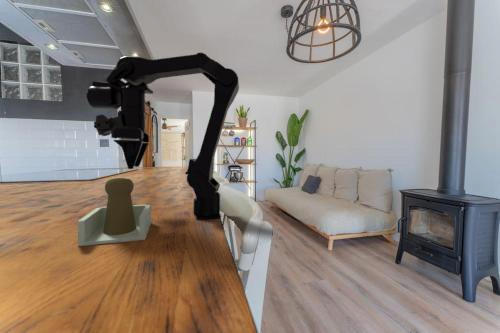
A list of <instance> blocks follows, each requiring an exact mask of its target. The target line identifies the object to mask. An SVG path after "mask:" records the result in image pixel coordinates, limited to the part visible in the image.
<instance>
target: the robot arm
mask: <svg viewBox="0 0 500 333" xmlns="http://www.w3.org/2000/svg"><path fill="white" fill-rule="evenodd" d="M197 74H202V75H203V76H204V77H206V79H208V80H209V81H210V82H211V83H212V84H213V85H214V90H213V92H214V93H213V94H214V96H213V106H212V108H211V112H210V116H209V120H208V123H207V126H206V129H205V133H204V137H203V140H202V143H201V147H200V150H199V154H198V155H197V157H196V158H190V159H189V161H188V168H187V170H186V172H185V175H186V182H187V184H188V185H189V187H190V188H192V189H193V192H194V196H195V198H193V199H192V201H193V202H192V208H193V211H192V212H193V216H195V220H207V219H208V220H209V219H219V218H220V219H221V218H222V215H221V213H220V212H221V211H220V210H221V194H220V193H219V192H218V191H219V189H220V188H221V187H220V186H221V184H220V183H219V182H218V181H217V180H216V179H215V178H214V177H213V176H214V169H215V168H214V165H215V156H216V155H215V154H216V151H217V148H218V145H219V142H220V138H221V134H222V131H223V128H224V125H225V121H226V119H227V114H228V111H229V109H230V107H231V105H232V104H233V102H234V100H235V98H236V96H237V94H238V93H239V90H240V83H239V76H238V74H237V72H236V71H235V70H233V69H232V68H226V67H225V66H223V65H222V64H221V63H220V62H218V61H216V60H214V59H212V58H210V56H208V55H207V54H205V53H204V52H197V53H195V54H188V55H182V56H181V55H179V56H171V57H163V58H157V59H156V58H155V59H154V58H153V59H152V58H151V59H148V58H144V57H141V56H129V55H128V56H127V55H126V56H125V55H124V56H122V57H121V56H120V57H119V59H118V61H117V64H116V65H115V67H114V68H113V70H112V71H111V72H110V74H108V76H107V78H106V79H105V82H102V81H97V80H94V81H91V82H92V86H89V87H88V90H87V91H86V100H87V102H88V104H89V105H90V106H91V107H92V108H93V109H98V110H100V109H101V110H102V109H105V110H106V109H108V110H115V109H116V110H118V109H120V110H118V111H117V116H116V117H109V118H108V117H107V116H106V115H105V114H98V115H96V117H95V121H93V124H94V125H93V127H94V128H95V129H96V132H97V134H98V136H102V137H107V136H110V138H111V139H113V142H114V143H116V144H118V145H119V147H121V149H122V151H123V155H124V159H125V162H126V166H127V169H129V170H132V169H134V168H138V167H140V165H141V163H142V160H143V158H144V156H145V154H146V151H147V149H148V147H149V145H150V143H151V141H150V140H151V136H150V135H149V134H148V133H147V129H146V119H147V114H146V94H147V95H151V94H154V91H153V90H152V89H151V88H150V87H149V86H148V85H149V84H152V83H153V82H155V81H157V80H159V79H164V78H165V79H166V78H171V77H173V78H174V77H181V76H188V75H197ZM123 80H124V81H126V82H124V81H123Z"/></svg>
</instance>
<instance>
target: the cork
mask: <svg viewBox="0 0 500 333" xmlns="http://www.w3.org/2000/svg"><path fill="white" fill-rule="evenodd" d="M134 188H135V187H134V182H133V180H131V179H130V178H125V177H117V178H112V179H108V180H107V181H106V182H105V184H104V190H105V193H106V194H107V201H106V202H107V203H106V207H107V208H106V215H105V223H104V230H103V233H104V234H105V235H121V234H126V233H129V232H132V231H134V230H135V229H136V223H135V217H134V211H133V200H132V192H133V191H134Z"/></svg>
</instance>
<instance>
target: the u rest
mask: <svg viewBox="0 0 500 333" xmlns="http://www.w3.org/2000/svg"><path fill="white" fill-rule="evenodd" d="M132 205H133V204H132ZM106 208H107V206H97V207H96V208H94V209H93V210H91V211H90V212H89V213H87V214H86V215H84V216H83V217H82V218H80V219H79V220H77V246H78V247H83V246H84V247H85V246H95V245H105V244H106V245H107V244H113V243H114V244H115V243H116V244H117V243H126V242H136V241H145V240H146V238H147V235H148V232H149V230H150V227H151V224H152V203H151V204H150V203H148V204H134V205H133V211H134V217H135V223H136V229H135V230H134V231H132V232H129V233H126V234H121V235H105V234H104V233H103V230H104V223H105V215H106Z"/></svg>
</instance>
